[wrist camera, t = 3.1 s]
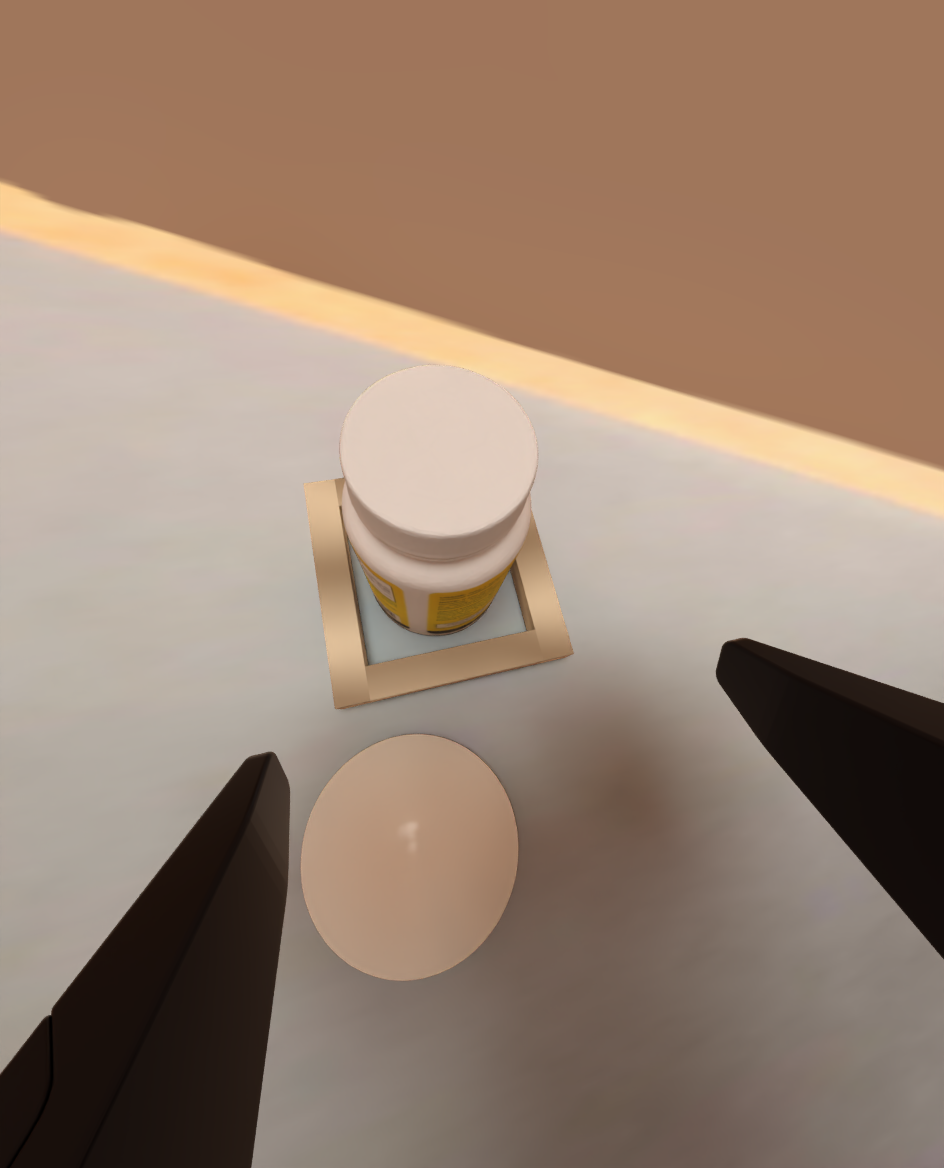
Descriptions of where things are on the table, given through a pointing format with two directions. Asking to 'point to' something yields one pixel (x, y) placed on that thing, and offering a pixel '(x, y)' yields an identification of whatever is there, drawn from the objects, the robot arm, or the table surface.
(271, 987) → the robot arm
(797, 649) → the table surface
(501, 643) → the pocket frame
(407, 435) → the supplement bottle
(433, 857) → the coaster
